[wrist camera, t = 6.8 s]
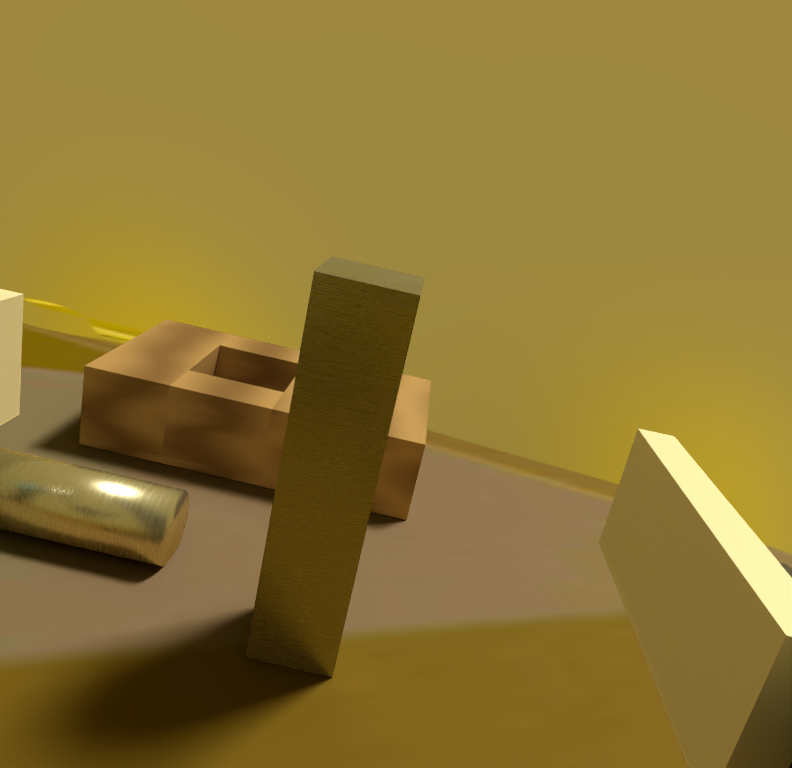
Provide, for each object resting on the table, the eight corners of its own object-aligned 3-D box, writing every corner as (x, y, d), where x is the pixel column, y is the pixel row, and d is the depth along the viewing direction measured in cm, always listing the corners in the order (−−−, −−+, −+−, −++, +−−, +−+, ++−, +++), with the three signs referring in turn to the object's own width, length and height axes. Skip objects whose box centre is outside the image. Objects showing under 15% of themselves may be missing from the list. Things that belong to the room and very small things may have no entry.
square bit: (245, 657, 28) (314, 271, 23) (268, 602, 31) (332, 256, 26) (331, 677, 28) (420, 295, 23) (345, 620, 31) (424, 277, 26)
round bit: (-11, 500, 35) (-62, 531, 31) (-5, 433, 34) (-56, 457, 30) (182, 544, 35) (154, 580, 31) (193, 478, 34) (165, 508, 30)
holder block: (79, 444, 41) (84, 365, 39) (159, 382, 52) (166, 319, 51) (406, 520, 41) (425, 444, 39) (416, 441, 52) (431, 380, 51)
